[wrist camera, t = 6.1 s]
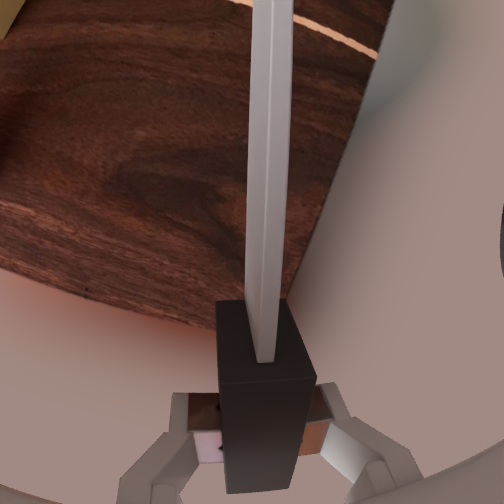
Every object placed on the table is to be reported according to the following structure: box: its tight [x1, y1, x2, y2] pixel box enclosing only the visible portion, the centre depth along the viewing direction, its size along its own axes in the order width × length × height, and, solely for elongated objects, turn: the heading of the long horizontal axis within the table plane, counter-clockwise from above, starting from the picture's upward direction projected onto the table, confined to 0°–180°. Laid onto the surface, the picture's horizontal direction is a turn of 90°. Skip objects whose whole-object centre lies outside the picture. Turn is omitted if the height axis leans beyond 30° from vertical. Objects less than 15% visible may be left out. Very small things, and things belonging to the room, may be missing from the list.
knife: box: [215, 0, 317, 494], centre depth 8 cm, size 2×15×4 cm, turn 178°
